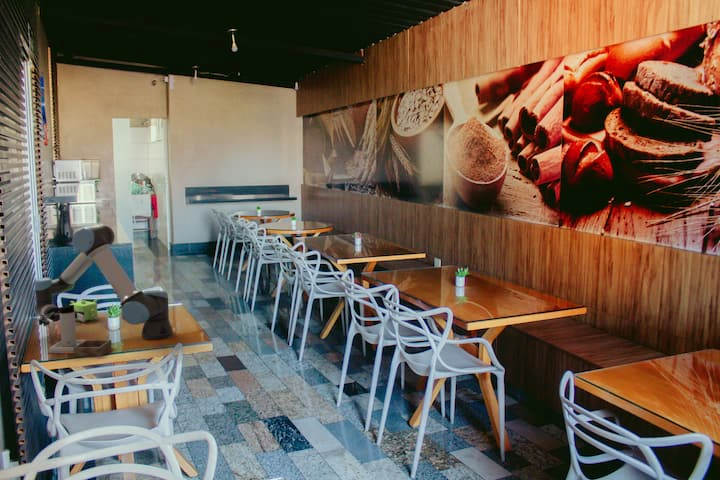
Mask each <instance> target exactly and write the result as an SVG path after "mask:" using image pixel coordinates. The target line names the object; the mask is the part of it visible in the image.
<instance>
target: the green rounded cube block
mask: <svg viewBox="0 0 720 480" xmlns="http://www.w3.org/2000/svg"><path fill="white" fill-rule="evenodd" d="M97 301H98V299H94V300H93V301H87V300H85V299H83V300H80V301H79V302H78V301H77V302H75V301H73V300H70V304H69V305H74V311H81V312H84V321H81V322H85V323H86V321H88V320H89V321H94V320H93V319H96V318H98V317H99V316H98V314H99V313H98V302H97ZM75 322H80V320H78V319H77V318H75ZM81 322H80V323H81Z"/></svg>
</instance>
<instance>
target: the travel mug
mask: <svg viewBox="0 0 720 480" xmlns="http://www.w3.org/2000/svg"><path fill="white" fill-rule="evenodd" d="M59 310H60V320H59V323H60V324H59V325H60V341H61V342H62V347H75V346H77V343H76V340H77V330H76V321H75V313H74V305H70V304H67V305H63V306H61V307H59Z"/></svg>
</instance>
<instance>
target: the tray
mask: <svg viewBox="0 0 720 480" xmlns="http://www.w3.org/2000/svg"><path fill="white" fill-rule="evenodd" d="M85 340H86V339H76V343H77V345H79V344H80V343H82V342H83V341H85ZM75 347H76V346H75ZM48 351H49V354H74V347H62V342H61V340H60V341H58V342H56V343H55V344H53V345H52V346H50V347H49V350H48Z"/></svg>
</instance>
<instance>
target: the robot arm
mask: <svg viewBox="0 0 720 480" xmlns="http://www.w3.org/2000/svg"><path fill="white" fill-rule="evenodd" d="M115 236H116V235H115V232H114V230H113V229H112V228H111V227H110V226H108V225H105V224H96V225H91V226H89V225H88V226H83V227H80V228H77V229H76V230H75V231H74V233H73V235H72V240H71V241H72V242H71V243H72V246H73V248H74V250H76V251H77V252H79V254H78V255H77V256H76V258H74V260H73V261H72V262H71V263H70V264H69V265H68V266H67V267H66V269H65V270H63V272H62V273H61V274H60V275H59V276H58V277H57V278H56V279H52V278H50V277H43V278H37V279H36V280H34V291H35V293H34V294H35V304H34V306H33V311H34V313H35V314H36V315H37V316H39V319H38V326H42V325H43V327H46V326H48V327H51V328H54V323H55V322H60V310H59V308H60V307H59V306H57V305H55V304H54V296H56V295H59V294H62V293H65V292H66V293H67V292H69V291H71V290H73V289H74V287H75V283H76V281H77V280H78V279H79V278H80V277H81V276H82V275H83V274H84V273H85V272H86V271H87V270H88V269H89V268H90V266H91V265H92V264H93V263H94V264H95V265H96V266H97V268H98V269H99V271H101V273H102V275H103V276H104V278H105V280H107V282H108V283H109V284H110V286H111V288H112V289H113V290H114V293H115V292H116V293H117V295H118V296H119V298H118V299H120V303H119V304H120V307H121V318H122V317H123V318H124V319H123V320H124V321H125V322H127V324H130V325H134V326H137V325H141V324H143V326H142V329H141V338H142V339H143V340H150V341H152V340H153V341H154V340H155V341H156V340H163V339H167V338H170V337H173V335H174V329H173V326H172V325H171V322H170V318H169V317H170V316H169V314H170V313H169V312H170V311H169V293H168V292H167V291H165V290H146V291H143V290H139V289H137V288H136V286H135V284H134V283H133V281H132V280H131V279H130V277H129V276H128V274H127V273H126V272H125V270H124V269H123V268H122V266H121V264H120V263H119V261H118V260H117V258H116V257H115V256H114V255H113V253H112V251H111V249H110V247H111V246H112V245H113V243H114V242H115ZM117 295H116V296H117ZM74 313H75V318H77V319H78V320H79V322H80V321H84V312H81V311H74Z"/></svg>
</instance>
